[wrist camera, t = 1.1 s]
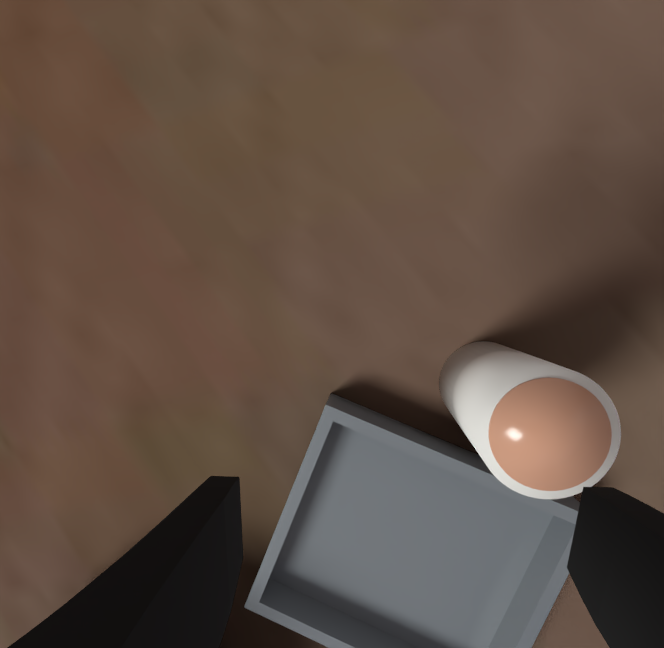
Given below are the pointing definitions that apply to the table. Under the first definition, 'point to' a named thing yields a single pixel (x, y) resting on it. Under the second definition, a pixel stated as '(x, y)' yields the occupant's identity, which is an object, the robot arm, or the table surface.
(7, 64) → the table surface
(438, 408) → the table surface
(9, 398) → the table surface
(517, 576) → the tray
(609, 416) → the cup
